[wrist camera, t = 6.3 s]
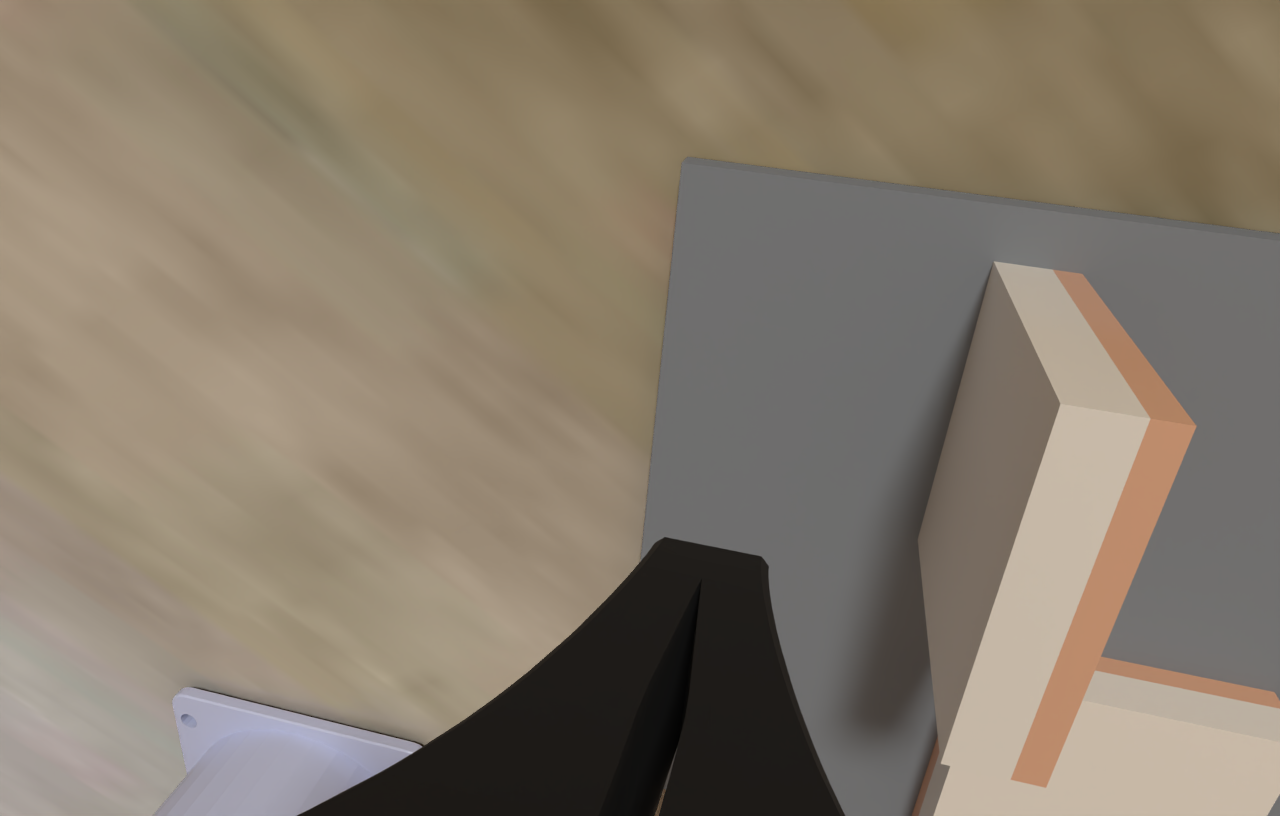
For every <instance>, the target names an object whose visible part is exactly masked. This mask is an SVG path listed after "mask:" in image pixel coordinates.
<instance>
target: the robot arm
mask: <svg viewBox="0 0 1280 816" xmlns="http://www.w3.org/2000/svg"><path fill="white" fill-rule="evenodd" d="M172 704H173V709H174V713H175V718H176V723H177V728H178V733H179V738H180V742H181V747H182V752H183V757H184V762H185V766H186V771H187V775H186V777H185V778H184V779H183V780H182V781H181V783H180V784H179V785H178V786H177V787H176V788H175V790H174V791H173V792H172V793H171V794H170V796H169V797H168V798H167V799H166V800H165V801H164V803H163V804H162V805H161V806H160V807H159V809H158V810H157V811H156V812H155V813H154V814H153V816H654V815H655V812H656V809H657V806H658V803H659V800H660V797H661V794H662V791H663V788H664V785H665V782H666V779H667V776H668V773H669V771H670V768H671V765H672V762H673V758H674V755H675V758H674V762H673V766H672V770H671V773H670V777H669V781H668V785H667V788H666V792H665V796H664V799H663V803H662V807H661V810H660V814H659V816H845V814H844V812H843V810H842V808H841V806H840V804H839V801H838V799H837V797H836V795H835V793H834V791H833V789H832V787H831V784H830V782H829V780H828V778H827V775H826V773H825V771H824V769H823V766H822V764H821V762H820V759H819V757H818V754H817V752H816V749H815V747H814V745H813V742H812V739H811V737H810V734H809V731H808V729H807V726H806V723H805V721H804V718H803V715H802V713H801V710H800V707H799V704H798V701H797V698H796V695H795V692H794V690H793V686H792V683H791V680H790V676H789V673H788V669H787V666H786V663H785V659H784V656H783V653H782V649H781V645H780V641H779V637H778V633H777V629H776V624H775V619H774V614H773V610H772V604H771V597H770V589H769V566H768V564H767V563H766V562H765V560H764V559H763V558H762V556H757V555H752V554H747V553H742V552H737V551H732V550H727V549H722V548H718V547H713V546H708V545H703V544H698V543H693V542H688V541H683V540H678V539H673V538H668V537H664V538H662V539H660V540H659V541H657V542H655V543H654V545H653V546H652V547H651V549H650V550H649V552H648V553H647V554H646V555H645V557H644V558H643V559H642V560H641V562H640V563H639V564H638V565H637V566H636V568H635V569H634V570H633V571H632V572H631V573H630V575H629V576H628V577H627V578H626V579H625V580H624V581H623V582H622V583H621V585H620V586H619V587H618V588H617V589H616V590H615V591H614V592H613V593H612V594H611V595H610V596H609V597H608V598H607V599H606V600H605V601H604V602H603V603H602V604H601V605H600V606H599V607H598V608H597V609H596V610H595V611H594V612H593V613H592V614H591V615H590V616H589V617H588V618H587V619H586V620H585V621H584V622H583V623H582V624H581V625H580V626H579V627H578V628H577V629H576V630H575V631H574V632H573V633H572V634H571V635H570V636H569V637H568V638H566V639H565V640H564V641H563V642H562V643H561V644H560V645H558V646H557V647H556V648H555V649H554V650H553V651H552V652H550V653H549V654H548V655H547V656H546V657H545V658H544V659H542V660H541V661H540V662H539V663H538V664H537V665H535V666H534V667H533V668H532V669H531V670H530V671H529V672H527V673H526V674H525V675H524V676H522V677H521V678H520V679H519V680H517V681H516V682H515V683H514V684H512V685H511V686H510V687H508V688H507V689H506V690H505V691H503V692H502V693H501V694H499V695H498V696H497V697H495V698H494V699H493V700H491V701H490V702H489V703H487V704H486V705H484V706H483V707H482V708H480V709H479V710H477V711H476V712H475V713H473V714H472V715H470V716H469V717H468V718H466V719H465V720H463V721H462V722H460V723H459V724H457V725H456V726H454V727H453V728H451V729H449V730H448V731H446V732H445V733H443V734H442V735H440V736H439V737H437V738H435V739H434V740H432V741H431V742H429V743H428V744H426V745H425V746H423V747H422V746H421V745H419V744H417V743H414V742H411V741H407V740H403V739H399V738H395V737H391V736H387V735H383V734H379V733H375V732H370V731H366V730H362V729H358V728H354V727H350V726H346V725H342V724H338V723H334V722H330V721H326V720H322V719H318V718H314V717H310V716H306V715H302V714H298V713H294V712H290V711H286V710H282V709H278V708H274V707H269V706H265V705H261V704H257V703H253V702H249V701H245V700H241V699H237V698H233V697H229V696H225V695H221V694H217V693H213V692H209V691H205V690H201V689H197V688H192V687H185V688H182V689H181V690H180V691H179V692H178V693H177V694H176V695H175V696H174V698H173V702H172ZM677 746H678V747H677ZM676 749H677V751H676ZM675 752H676V754H675Z"/></svg>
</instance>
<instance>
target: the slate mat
mask: <svg viewBox="0 0 1280 816" xmlns="http://www.w3.org/2000/svg"><path fill="white" fill-rule="evenodd" d="M994 261H995V262H1002V263H1009V264H1016V265H1023V266H1030V267H1037V268H1044V269H1052V270H1059V271H1066V272H1073V273H1080V274H1083V275H1084V277H1085V278H1086V279H1087V281H1088V282H1089V283H1090V285H1091V286H1092V287H1093V289H1094V290H1095V291H1096V293H1097V294H1098V295H1099V297H1100V298H1101V299H1102V301H1103V302H1104V303H1105V305H1106V306H1107V307H1108V309H1109V310H1110V311H1111V313H1112V314H1113V315H1114V317H1115V318H1116V319H1117V321H1118V322H1119V323H1120V325H1121V326H1122V327H1123V329H1124V330H1125V331H1126V333H1127V334H1128V335H1129V337H1130V338H1131V339H1132V341H1133V342H1134V343H1135V345H1136V346H1137V347H1138V349H1139V350H1140V351H1141V353H1142V354H1143V355H1144V357H1145V358H1146V359H1147V361H1148V362H1149V363H1150V365H1151V366H1152V367H1153V369H1154V370H1155V371H1156V373H1157V374H1158V375H1159V377H1160V378H1161V379H1162V381H1163V382H1164V383H1165V385H1166V386H1167V387H1168V389H1169V390H1170V391H1171V393H1172V394H1173V395H1174V397H1175V398H1176V399H1177V401H1178V402H1179V403H1180V405H1181V406H1182V407H1183V409H1184V410H1185V411H1186V413H1187V414H1188V415H1189V417H1190V418H1191V419H1192V421H1193V422H1194V423H1195V425H1196V429H1195V431H1194V434H1193V436H1192V438H1191V441H1190V443H1189V446H1188V448H1187V450H1186V453H1185V455H1184V458H1183V460H1182V463H1181V465H1180V467H1179V470H1178V472H1177V475H1176V477H1175V479H1174V482H1173V484H1172V487H1171V489H1170V491H1169V494H1168V496H1167V499H1166V501H1165V503H1164V506H1163V508H1162V511H1161V513H1160V515H1159V518H1158V520H1157V523H1156V525H1155V527H1154V530H1153V532H1152V535H1151V537H1150V539H1149V542H1148V544H1147V547H1146V549H1145V551H1144V554H1143V556H1142V559H1141V561H1140V563H1139V566H1138V568H1137V571H1136V573H1135V575H1134V578H1133V580H1132V583H1131V585H1130V587H1129V590H1128V592H1127V595H1126V597H1125V599H1124V602H1123V604H1122V607H1121V609H1120V611H1119V614H1118V616H1117V619H1116V621H1115V624H1114V626H1113V628H1112V631H1111V633H1110V636H1109V638H1108V640H1107V643H1106V645H1105V648H1104V650H1103V652H1102V655H1101V657H1105V658H1110V659H1115V660H1120V661H1125V662H1130V663H1135V664H1140V665H1145V666H1149V667H1154V668H1159V669H1164V670H1169V671H1174V672H1179V673H1184V674H1189V675H1193V676H1198V677H1203V678H1208V679H1213V680H1218V681H1223V682H1228V683H1233V684H1237V685H1242V686H1247V687H1252V688H1257V689H1262V690H1267V691H1272V692H1275V694H1276V695H1277V697H1278V699H1279V701H1280V234H1279V233H1271V232H1263V231H1256V230H1248V229H1240V228H1233V227H1225V226H1217V225H1209V224H1202V223H1194V222H1186V221H1179V220H1171V219H1163V218H1155V217H1148V216H1140V215H1132V214H1125V213H1117V212H1109V211H1101V210H1094V209H1086V208H1078V207H1071V206H1063V205H1055V204H1047V203H1040V202H1032V201H1024V200H1017V199H1009V198H1001V197H993V196H986V195H978V194H970V193H963V192H955V191H947V190H939V189H932V188H924V187H916V186H909V185H901V184H893V183H885V182H878V181H870V180H862V179H855V178H847V177H839V176H831V175H824V174H816V173H808V172H801V171H793V170H785V169H777V168H770V167H762V166H754V165H746V164H739V163H731V162H723V161H716V160H708V159H700V158H692V157H687V158H686V159H685V160H684V161H683V162H682V166H681V176H680V185H679V195H678V205H677V214H676V224H675V233H674V243H673V253H672V262H671V272H670V282H669V291H668V301H667V311H666V320H665V330H664V340H663V349H662V359H661V369H660V378H659V388H658V398H657V407H656V417H655V426H654V436H653V446H652V455H651V465H650V475H649V484H648V494H647V504H646V513H645V523H644V533H643V542H642V552H641V560H642V559H643V558H644V557H645V555H646V554H647V553H648V552H649V550H650V549H651V547H652V546H653V545H654V543H655V542H657V541H659V540H660V539H662V538H664V537H668V538H673V539H678V540H683V541H688V542H693V543H698V544H703V545H708V546H713V547H718V548H722V549H727V550H732V551H737V552H742V553H747V554H752V555H757V556H762V558H763V559H764V560H765V562H766V563H767V564H768V566H769V589H770V597H771V604H772V610H773V614H774V619H775V624H776V629H777V633H778V637H779V641H780V645H781V649H782V653H783V656H784V659H785V663H786V666H787V669H788V673H789V676H790V680H791V683H792V686H793V690H794V692H795V695H796V698H797V701H798V704H799V707H800V710H801V713H802V715H803V718H804V721H805V723H806V726H807V729H808V731H809V734H810V737H811V739H812V742H813V745H814V747H815V749H816V752H817V754H818V757H819V759H820V762H821V764H822V766H823V769H824V771H825V773H826V775H827V778H828V780H829V782H830V784H831V787H832V789H833V791H834V793H835V795H836V797H837V799H838V801H839V804H840V806H841V808H842V810H843V812H844V814H845V816H912V813H913V810H914V807H915V804H916V801H917V798H918V795H919V792H920V789H921V786H922V783H923V780H924V776H925V773H926V770H927V767H928V764H929V761H930V758H931V755H932V752H933V749H934V746H935V743H936V740H937V736H938V733H937V724H936V714H935V704H934V694H933V684H932V675H931V665H930V655H929V645H928V636H927V626H926V616H925V606H924V597H923V587H922V577H921V567H920V557H919V548H918V536H919V533H920V529H921V525H922V522H923V518H924V514H925V511H926V507H927V503H928V500H929V496H930V492H931V489H932V485H933V481H934V478H935V474H936V470H937V467H938V463H939V459H940V456H941V452H942V448H943V445H944V441H945V438H946V434H947V430H948V427H949V423H950V419H951V416H952V412H953V408H954V405H955V401H956V397H957V394H958V390H959V386H960V383H961V379H962V375H963V372H964V368H965V364H966V361H967V357H968V353H969V350H970V346H971V342H972V339H973V335H974V331H975V328H976V324H977V320H978V317H979V313H980V309H981V306H982V302H983V298H984V295H985V291H986V287H987V284H988V280H989V276H990V273H991V269H992V265H993V262H994ZM677 747H678V746H677ZM676 751H677V749H676ZM675 754H676V752H675ZM674 758H675V755H674ZM674 758H673V762H674ZM673 762H672V765H671V768H670V771H669V773H668V776H667V779H666V782H665V785H664V788H663V789H666V788H667V785H668V781H669V777H670V773H671V770H672V766H673ZM1267 816H1280V795H1279V796H1278V798H1277V800H1276V801H1275V803H1274V805H1273V806H1272V808H1271V810H1270V812H1269V813H1268V815H1267Z"/></svg>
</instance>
